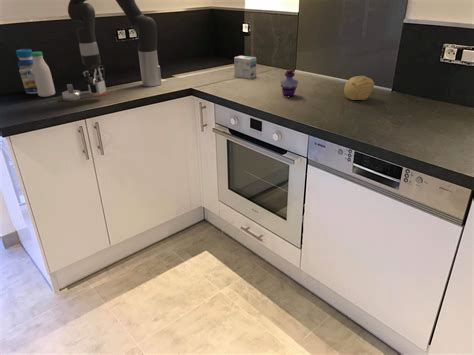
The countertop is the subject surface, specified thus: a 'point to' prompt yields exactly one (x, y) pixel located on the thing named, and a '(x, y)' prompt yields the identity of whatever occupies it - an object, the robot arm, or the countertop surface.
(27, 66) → the beverage bottle
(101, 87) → the socket
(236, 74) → the light bulb box
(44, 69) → the milk bottle
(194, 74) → the countertop surface
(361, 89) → the tan lumpy round lump
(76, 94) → the ratchet
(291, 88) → the potion bottle
